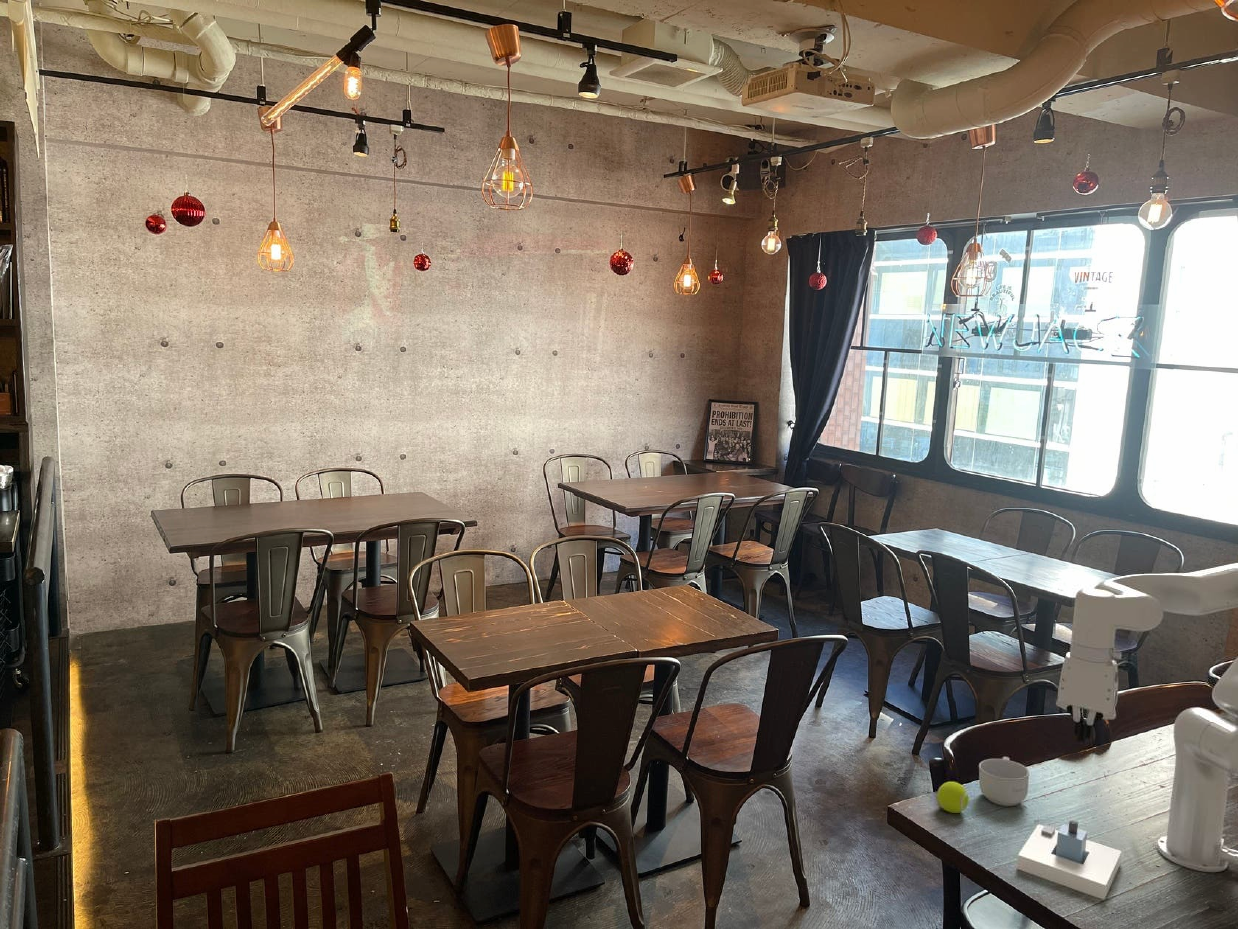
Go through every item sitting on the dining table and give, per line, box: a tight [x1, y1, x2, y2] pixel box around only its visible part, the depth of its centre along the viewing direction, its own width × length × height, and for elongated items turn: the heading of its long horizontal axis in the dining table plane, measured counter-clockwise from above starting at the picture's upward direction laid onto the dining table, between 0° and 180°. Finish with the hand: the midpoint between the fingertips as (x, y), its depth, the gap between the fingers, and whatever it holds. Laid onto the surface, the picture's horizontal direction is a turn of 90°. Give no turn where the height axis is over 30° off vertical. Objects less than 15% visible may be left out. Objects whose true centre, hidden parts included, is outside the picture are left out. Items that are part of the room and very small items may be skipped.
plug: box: [1056, 820, 1088, 864], centre depth 186 cm, size 4×4×9 cm
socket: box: [1016, 824, 1122, 901], centre depth 187 cm, size 16×16×4 cm
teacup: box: [978, 756, 1030, 807], centre depth 215 cm, size 14×11×8 cm
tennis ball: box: [936, 781, 970, 814], centre depth 208 cm, size 7×7×7 cm
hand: (1082, 740), depth 184 cm, fingers closed
